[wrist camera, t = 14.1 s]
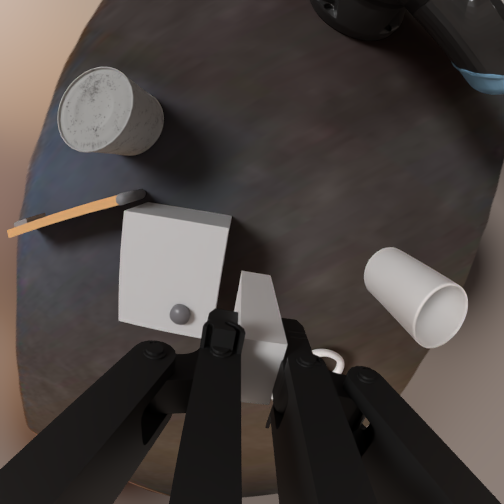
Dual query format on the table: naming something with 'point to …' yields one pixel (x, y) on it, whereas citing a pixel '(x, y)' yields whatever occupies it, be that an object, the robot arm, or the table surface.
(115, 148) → the grey mottled cylinder
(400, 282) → the cup
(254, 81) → the table surface
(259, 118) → the table surface
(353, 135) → the table surface
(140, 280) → the knobbed white cabinet
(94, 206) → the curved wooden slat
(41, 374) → the table surface
